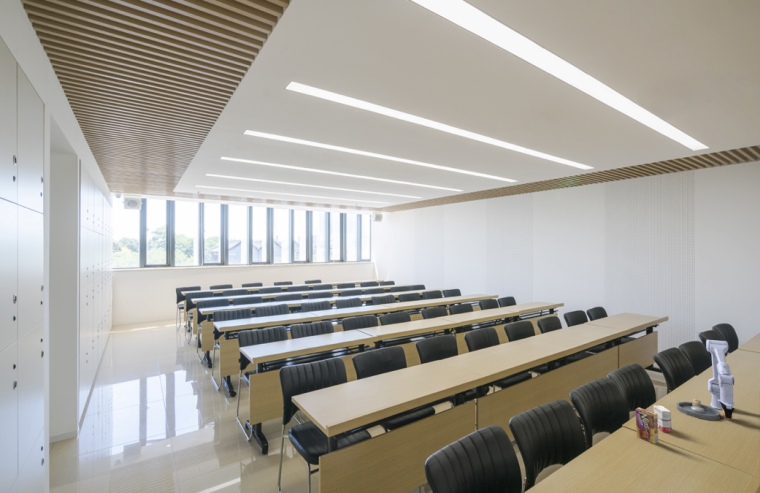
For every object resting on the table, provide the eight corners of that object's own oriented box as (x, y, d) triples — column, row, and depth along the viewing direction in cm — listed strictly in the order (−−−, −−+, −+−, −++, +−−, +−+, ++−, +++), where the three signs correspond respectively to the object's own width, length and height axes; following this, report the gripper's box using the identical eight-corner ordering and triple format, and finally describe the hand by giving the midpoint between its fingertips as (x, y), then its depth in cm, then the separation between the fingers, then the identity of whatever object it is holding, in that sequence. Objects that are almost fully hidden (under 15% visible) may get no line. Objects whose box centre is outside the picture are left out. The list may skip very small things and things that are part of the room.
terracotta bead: (722, 416, 212) (722, 408, 212) (731, 418, 210) (731, 410, 210) (723, 419, 209) (723, 411, 209) (733, 421, 206) (732, 412, 207)
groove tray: (676, 403, 232) (676, 399, 233) (717, 411, 220) (716, 407, 220) (677, 413, 217) (677, 409, 217) (722, 422, 204) (721, 418, 204)
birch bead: (692, 406, 226) (691, 398, 226) (700, 407, 223) (700, 400, 224) (692, 408, 223) (692, 400, 223) (701, 410, 220) (700, 402, 220)
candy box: (659, 442, 184) (658, 413, 184) (654, 444, 182) (653, 415, 183) (640, 434, 192) (639, 407, 192) (636, 436, 190) (635, 408, 191)
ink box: (672, 432, 194) (671, 411, 194) (662, 432, 195) (661, 411, 195) (663, 425, 202) (662, 405, 202) (653, 424, 203) (653, 404, 203)
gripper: (715, 389, 218) (716, 410, 217) (719, 396, 207) (720, 419, 206) (731, 391, 213) (732, 413, 213) (736, 399, 202) (737, 422, 202)
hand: (727, 416), depth 209 cm, fingers closed on terracotta bead, 4 cm apart
